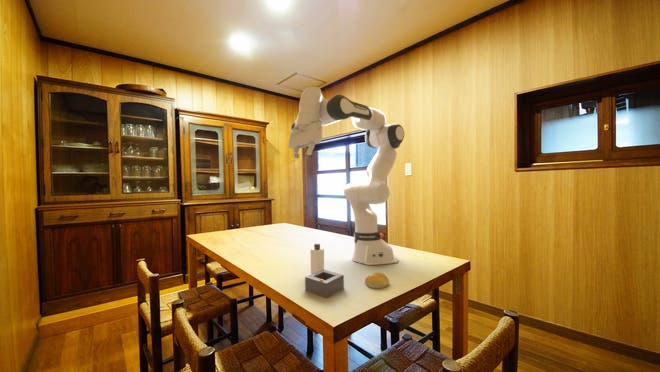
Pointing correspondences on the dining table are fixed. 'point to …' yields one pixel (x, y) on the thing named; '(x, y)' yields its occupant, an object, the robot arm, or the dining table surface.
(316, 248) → the plug
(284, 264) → the dining table surface
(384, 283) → the bread roll
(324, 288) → the socket block
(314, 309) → the dining table surface
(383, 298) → the dining table surface
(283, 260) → the dining table surface
